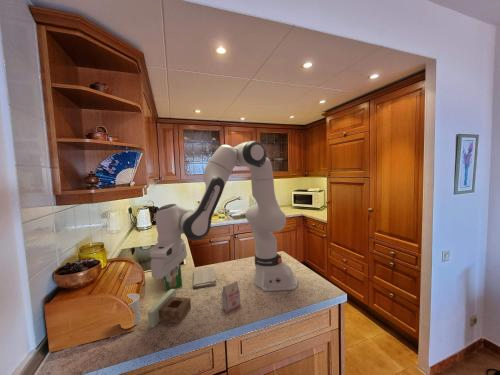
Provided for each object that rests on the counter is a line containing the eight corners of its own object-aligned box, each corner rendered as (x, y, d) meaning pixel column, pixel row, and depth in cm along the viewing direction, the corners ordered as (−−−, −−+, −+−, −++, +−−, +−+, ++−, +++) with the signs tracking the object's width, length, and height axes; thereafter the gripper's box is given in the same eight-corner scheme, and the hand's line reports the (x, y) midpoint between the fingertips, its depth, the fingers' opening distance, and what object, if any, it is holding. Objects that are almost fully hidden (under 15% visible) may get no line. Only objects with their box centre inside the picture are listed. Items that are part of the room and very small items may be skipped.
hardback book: (163, 276, 123) (159, 234, 121) (176, 272, 126) (173, 232, 124) (166, 291, 107) (162, 243, 105) (182, 286, 110) (178, 240, 108)
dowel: (177, 284, 89) (176, 265, 88) (174, 287, 86) (172, 268, 86) (171, 283, 89) (170, 265, 89) (167, 287, 87) (166, 268, 86)
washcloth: (193, 291, 107) (192, 285, 107) (192, 274, 124) (192, 269, 124) (217, 286, 110) (217, 280, 110) (213, 270, 127) (213, 265, 127)
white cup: (127, 316, 89) (125, 293, 88) (145, 316, 89) (143, 293, 88) (113, 330, 82) (111, 305, 81) (133, 331, 81) (131, 305, 80)
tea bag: (222, 307, 92) (221, 285, 91) (235, 301, 96) (234, 279, 95) (226, 311, 89) (225, 288, 88) (240, 305, 93) (239, 282, 92)
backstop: (176, 301, 98) (175, 289, 97) (153, 327, 82) (152, 312, 81) (172, 301, 98) (170, 288, 97) (149, 327, 82) (147, 312, 82)
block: (191, 308, 92) (190, 298, 92) (180, 323, 84) (179, 312, 83) (171, 306, 94) (171, 296, 94) (159, 321, 85) (158, 310, 85)
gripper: (176, 236, 97) (178, 266, 98) (146, 254, 77) (149, 291, 78) (189, 237, 96) (191, 267, 97) (162, 255, 76) (165, 292, 77)
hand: (172, 278), depth 88 cm, fingers closed on dowel, 3 cm apart
